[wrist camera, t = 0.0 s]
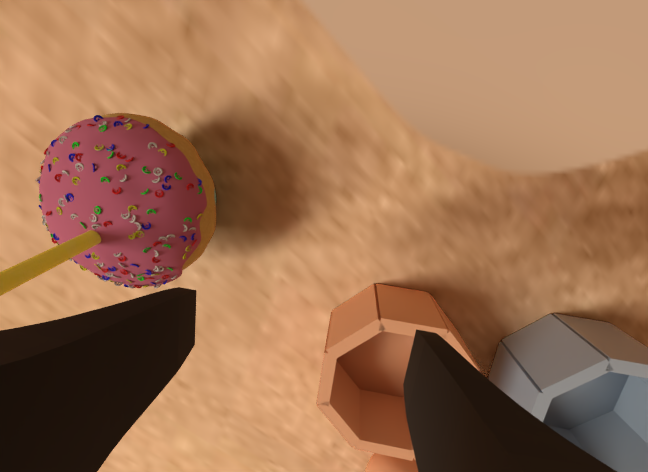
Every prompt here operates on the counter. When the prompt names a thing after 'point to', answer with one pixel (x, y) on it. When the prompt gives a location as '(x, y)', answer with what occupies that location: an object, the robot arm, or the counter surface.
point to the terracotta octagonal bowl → (377, 365)
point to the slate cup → (581, 385)
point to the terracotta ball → (390, 464)
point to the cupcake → (122, 203)
